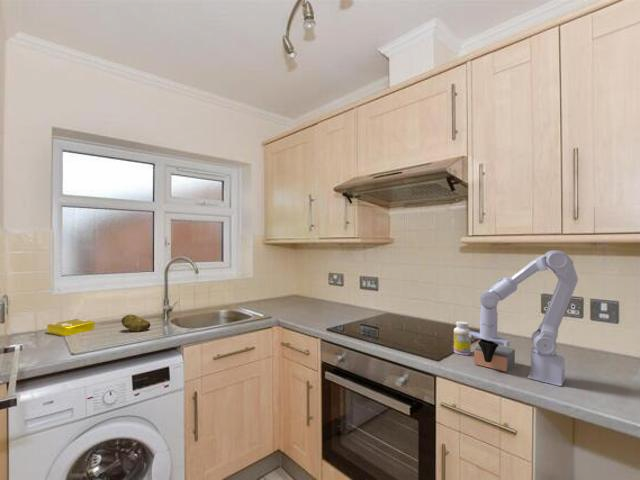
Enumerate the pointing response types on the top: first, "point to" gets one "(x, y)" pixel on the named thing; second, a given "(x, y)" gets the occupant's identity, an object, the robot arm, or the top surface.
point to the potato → (135, 323)
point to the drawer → (496, 362)
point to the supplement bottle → (462, 338)
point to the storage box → (504, 355)
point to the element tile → (70, 327)
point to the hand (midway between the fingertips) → (488, 361)
